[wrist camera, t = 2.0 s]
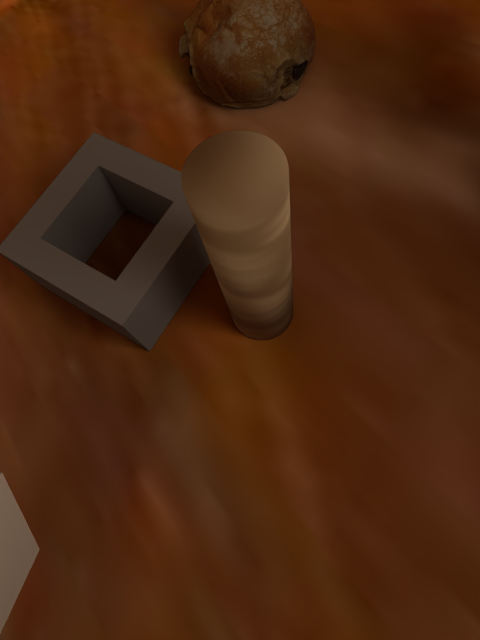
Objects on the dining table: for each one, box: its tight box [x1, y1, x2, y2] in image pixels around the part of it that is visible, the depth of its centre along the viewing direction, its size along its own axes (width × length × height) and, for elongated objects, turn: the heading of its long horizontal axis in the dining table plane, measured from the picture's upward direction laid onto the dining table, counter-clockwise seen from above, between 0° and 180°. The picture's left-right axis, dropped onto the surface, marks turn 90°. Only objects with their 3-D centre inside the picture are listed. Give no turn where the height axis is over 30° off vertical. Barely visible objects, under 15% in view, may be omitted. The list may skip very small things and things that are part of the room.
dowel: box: [181, 130, 293, 340], centre depth 23 cm, size 4×4×14 cm
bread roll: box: [178, 0, 315, 109], centre depth 35 cm, size 10×10×8 cm
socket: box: [0, 132, 210, 351], centre depth 30 cm, size 10×10×5 cm
